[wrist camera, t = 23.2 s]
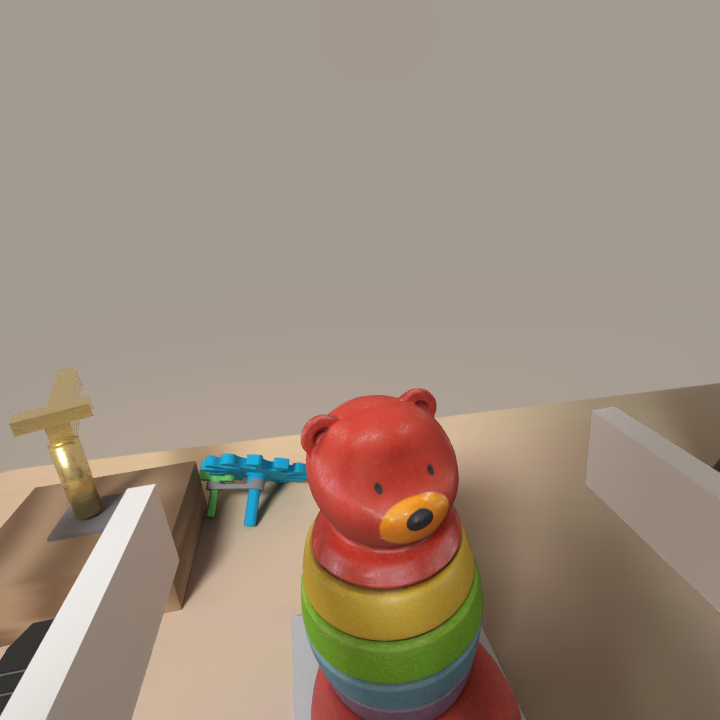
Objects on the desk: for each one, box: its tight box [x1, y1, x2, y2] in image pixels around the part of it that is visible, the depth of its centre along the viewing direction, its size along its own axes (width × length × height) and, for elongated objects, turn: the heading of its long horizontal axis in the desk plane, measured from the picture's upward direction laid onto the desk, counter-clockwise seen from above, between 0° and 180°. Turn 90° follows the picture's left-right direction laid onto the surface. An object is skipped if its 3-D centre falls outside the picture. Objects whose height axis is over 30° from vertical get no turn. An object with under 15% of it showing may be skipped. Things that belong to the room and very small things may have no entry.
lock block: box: [0, 461, 207, 646], centre depth 36 cm, size 14×12×5 cm
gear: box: [199, 454, 308, 526], centre depth 41 cm, size 11×6×10 cm
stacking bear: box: [301, 389, 521, 720], centre depth 23 cm, size 11×10×18 cm
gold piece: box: [9, 367, 103, 519], centre depth 39 cm, size 15×5×9 cm, turn 30°
